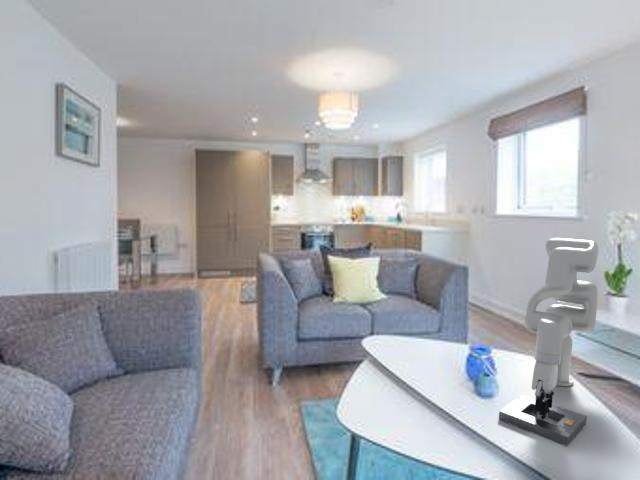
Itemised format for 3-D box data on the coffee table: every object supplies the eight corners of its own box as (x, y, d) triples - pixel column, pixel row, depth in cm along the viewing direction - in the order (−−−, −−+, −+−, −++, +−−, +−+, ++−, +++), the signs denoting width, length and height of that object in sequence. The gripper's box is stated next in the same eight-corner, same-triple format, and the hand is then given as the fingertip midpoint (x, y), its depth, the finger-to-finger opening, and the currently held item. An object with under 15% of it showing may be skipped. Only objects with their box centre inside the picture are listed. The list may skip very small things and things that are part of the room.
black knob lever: (546, 423, 142) (549, 394, 140) (529, 417, 145) (532, 388, 144) (553, 417, 146) (556, 388, 145) (537, 411, 150) (539, 383, 149)
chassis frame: (521, 401, 160) (522, 393, 160) (586, 424, 145) (587, 415, 145) (498, 419, 147) (499, 410, 147) (567, 446, 132) (568, 436, 132)
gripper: (545, 347, 152) (541, 397, 154) (525, 359, 141) (521, 413, 143) (568, 353, 147) (564, 405, 149) (550, 366, 135) (545, 422, 137)
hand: (543, 408), depth 146 cm, fingers closed on black knob lever, 4 cm apart
